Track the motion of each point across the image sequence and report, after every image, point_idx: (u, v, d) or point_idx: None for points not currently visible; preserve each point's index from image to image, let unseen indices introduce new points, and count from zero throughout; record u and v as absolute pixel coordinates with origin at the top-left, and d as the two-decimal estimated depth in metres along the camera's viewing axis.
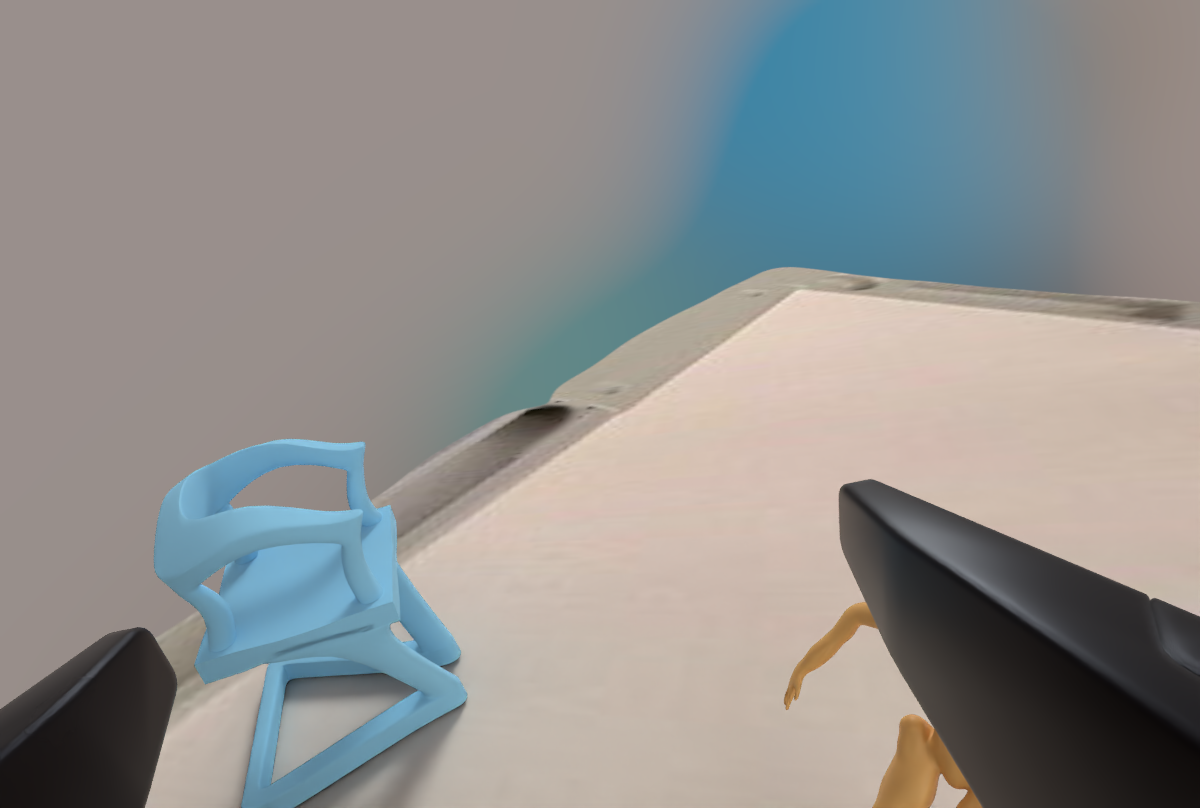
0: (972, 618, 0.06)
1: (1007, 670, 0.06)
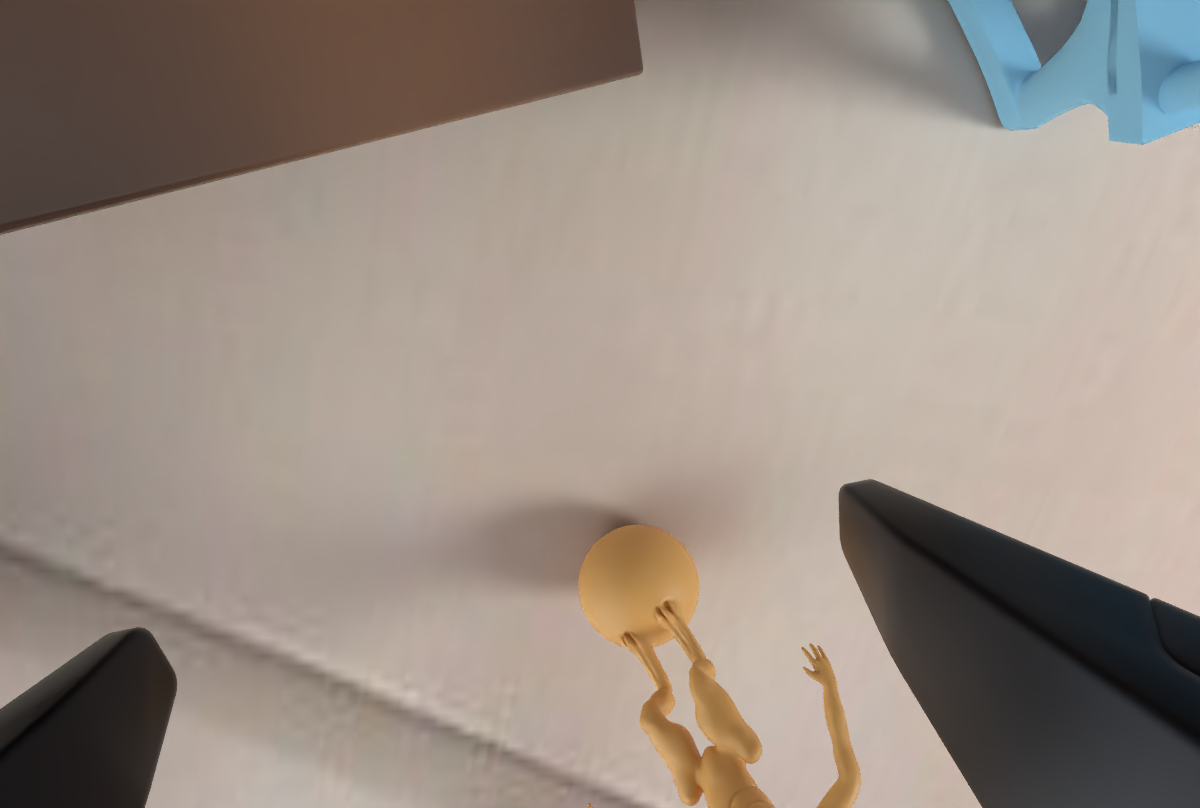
0: (972, 618, 0.06)
1: (1007, 670, 0.06)
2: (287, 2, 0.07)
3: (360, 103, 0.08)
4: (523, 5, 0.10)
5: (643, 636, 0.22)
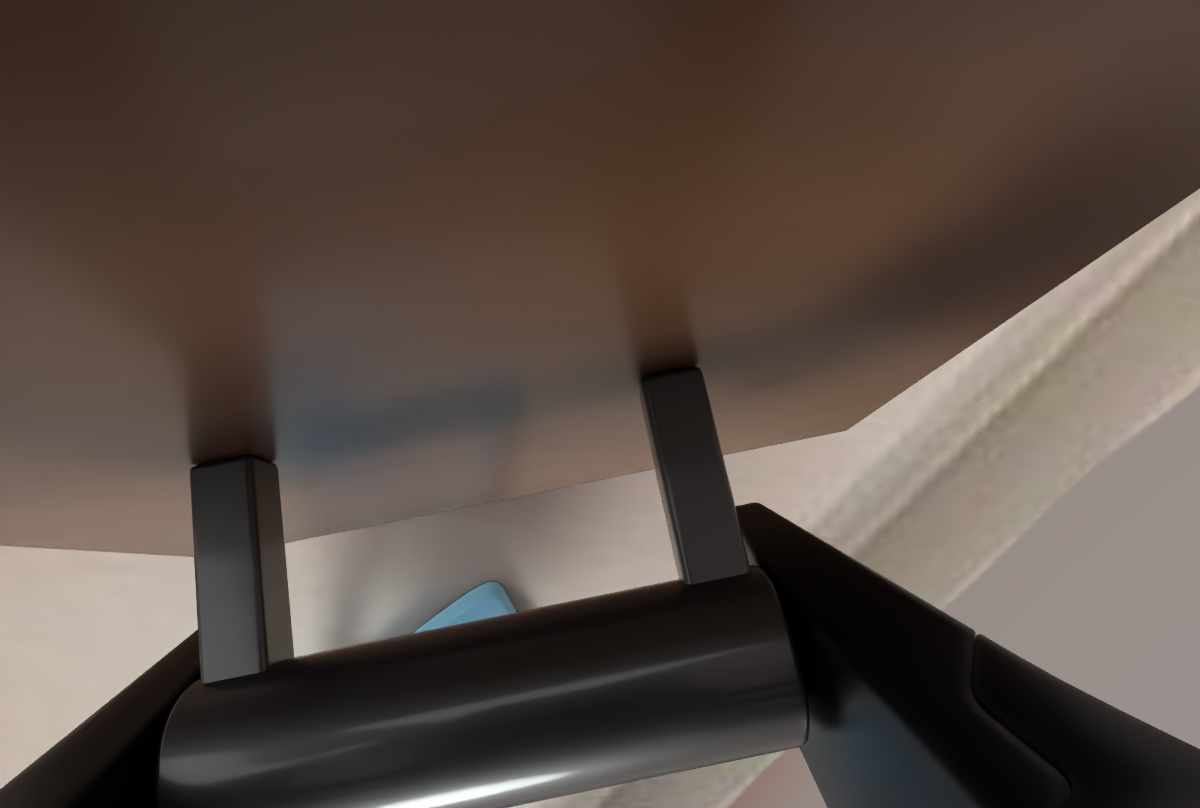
0: (815, 650, 0.06)
1: (842, 704, 0.06)
2: (9, 516, 0.08)
3: None
4: (181, 537, 0.12)
5: None
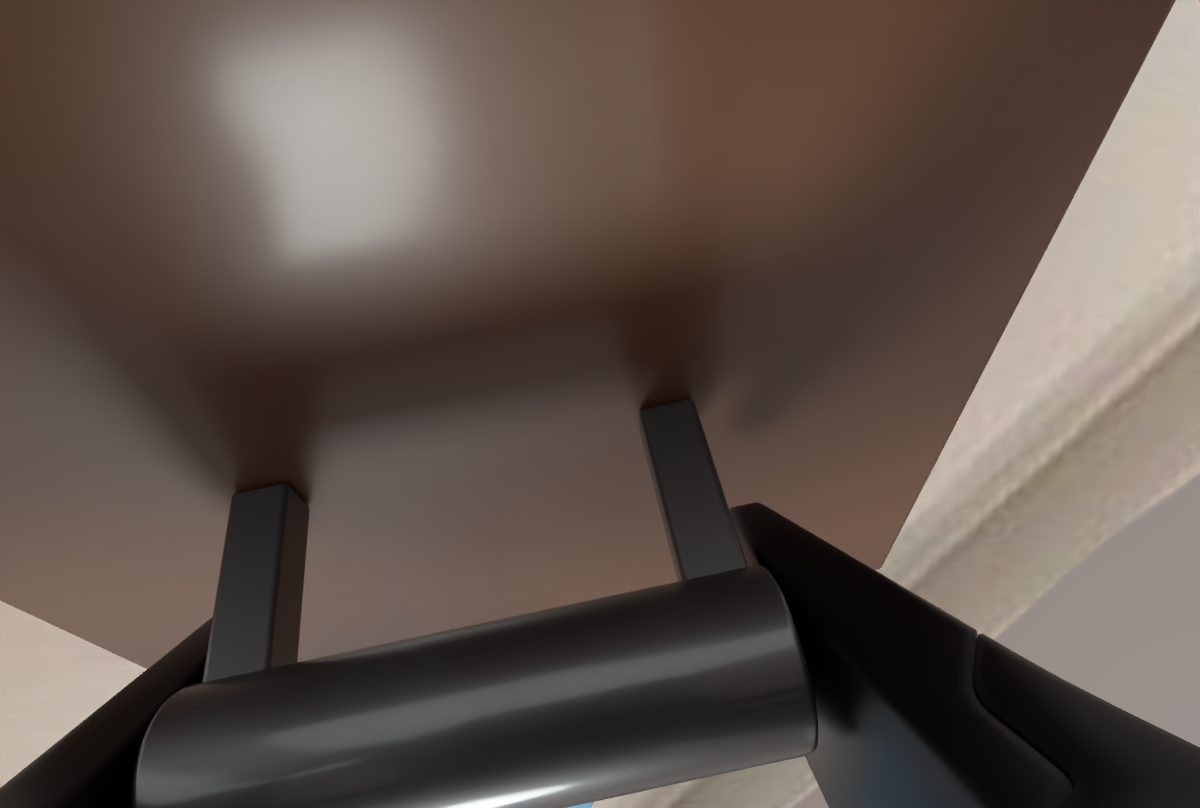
0: (818, 649, 0.06)
1: (844, 703, 0.06)
2: (63, 557, 0.09)
3: (14, 589, 0.09)
4: None
5: None
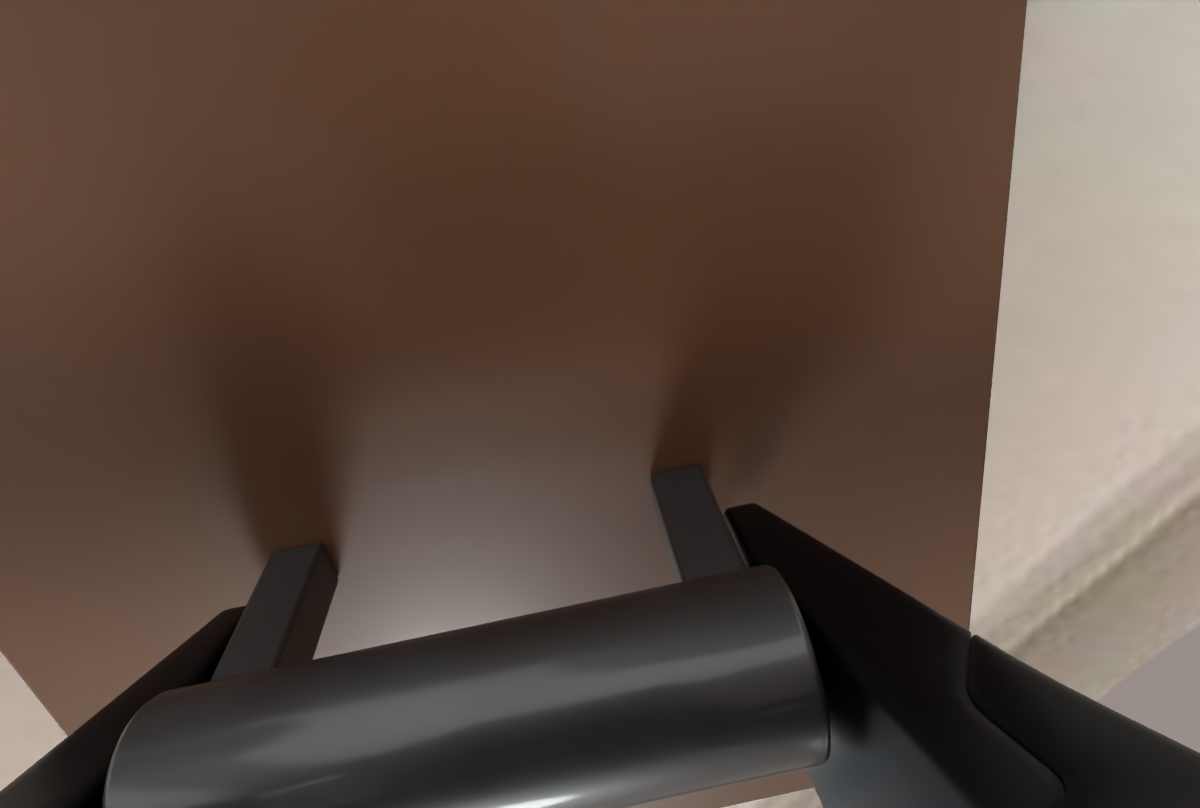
0: None
1: (838, 704, 0.06)
2: (103, 629, 0.09)
3: (47, 672, 0.10)
4: None
5: None
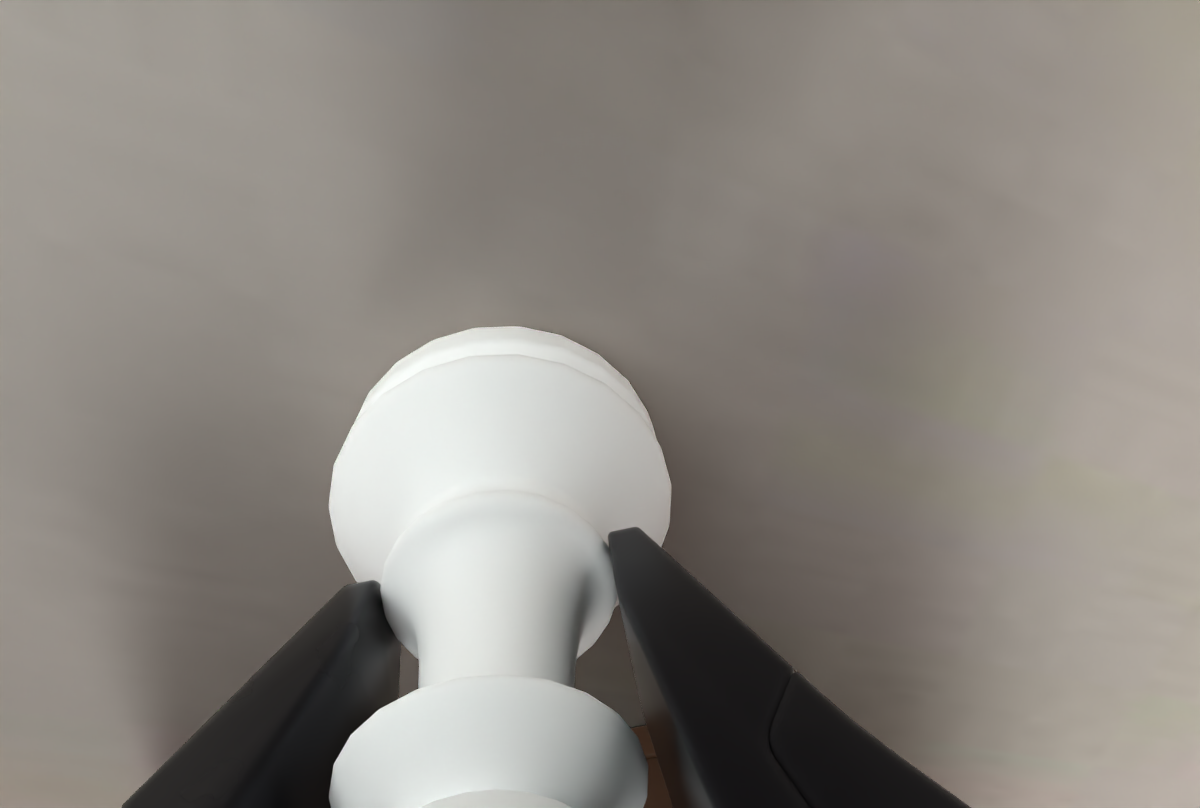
0: (652, 683, 0.06)
1: (670, 739, 0.06)
2: None
3: None
4: None
5: None
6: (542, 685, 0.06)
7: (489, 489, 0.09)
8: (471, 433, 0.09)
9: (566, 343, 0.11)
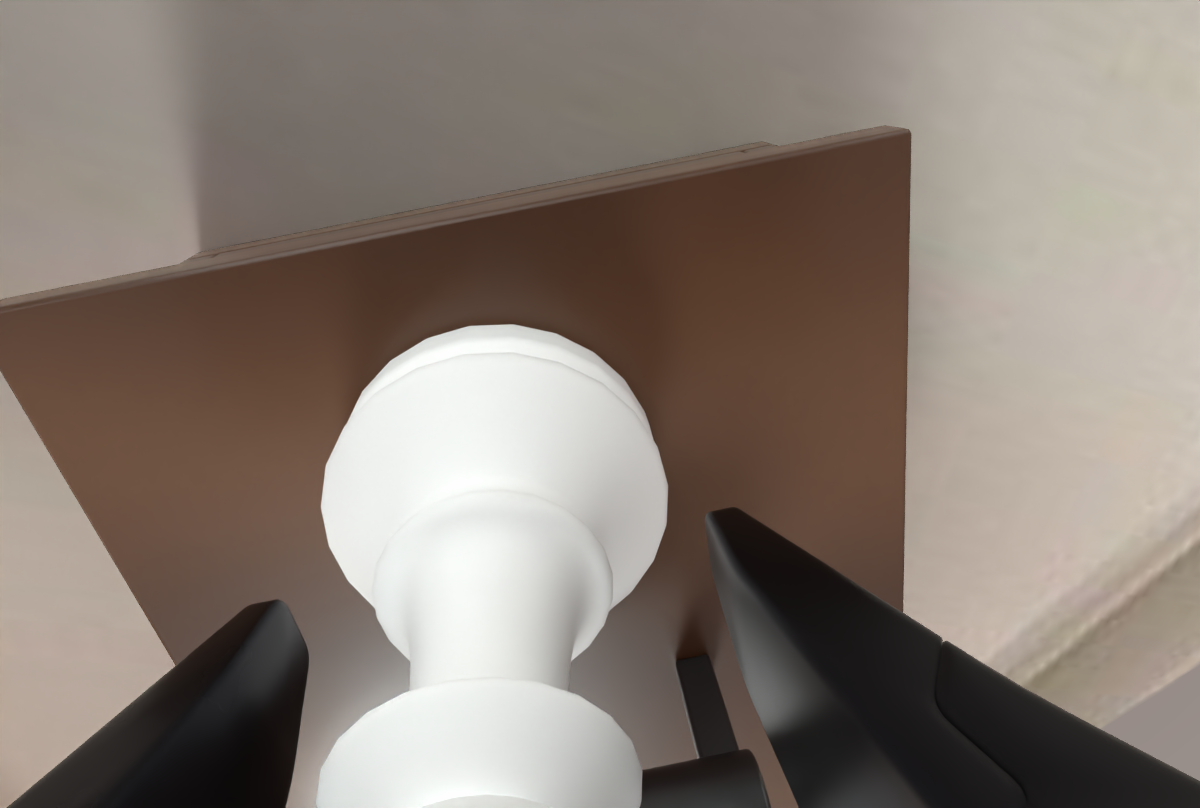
0: (786, 656, 0.06)
1: (811, 710, 0.06)
2: (308, 760, 0.14)
3: None
4: None
5: None
6: (533, 688, 0.06)
7: (482, 489, 0.09)
8: (465, 432, 0.09)
9: (561, 342, 0.10)
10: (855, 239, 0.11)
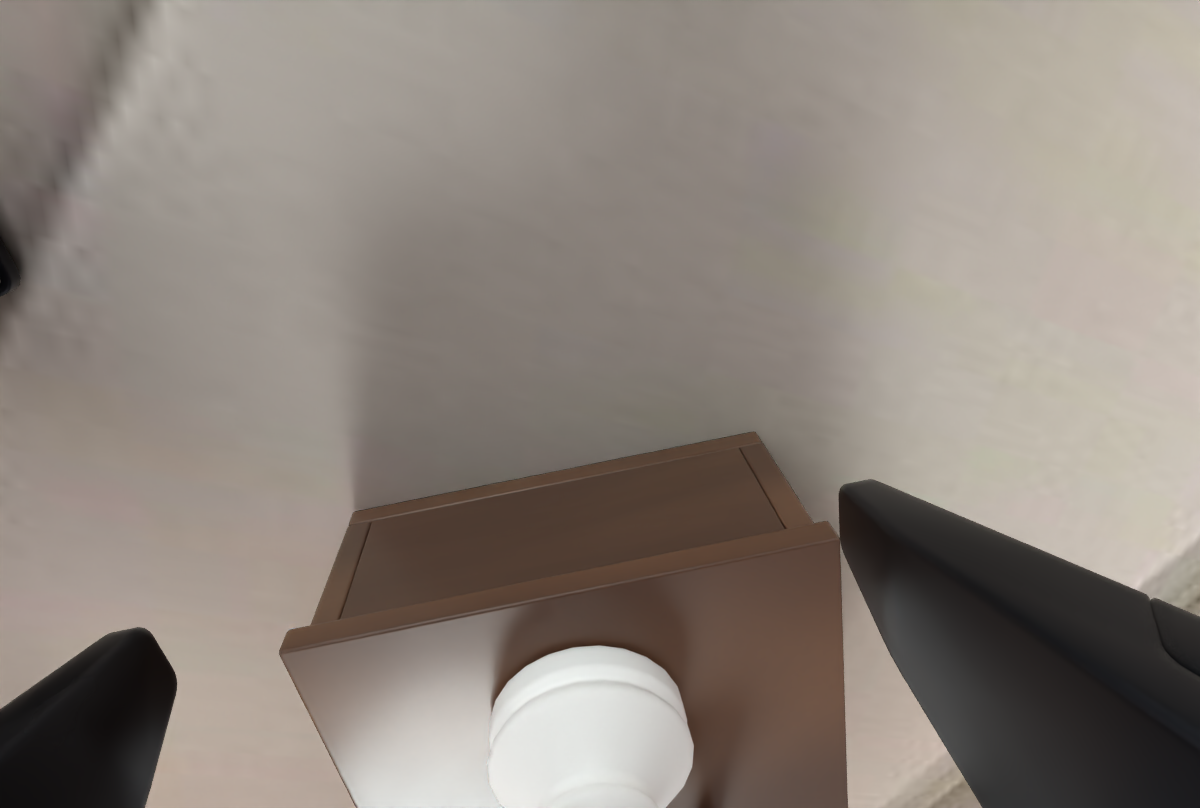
0: (972, 618, 0.06)
1: (1007, 670, 0.06)
2: None
3: None
4: None
5: None
6: None
7: (593, 779, 0.15)
8: (581, 741, 0.16)
9: (629, 660, 0.17)
10: (808, 591, 0.18)
